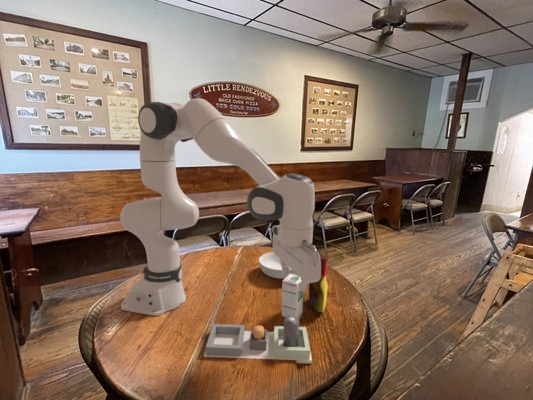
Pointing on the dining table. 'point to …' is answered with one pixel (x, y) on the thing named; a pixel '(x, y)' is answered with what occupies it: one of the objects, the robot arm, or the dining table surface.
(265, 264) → the serving bowl
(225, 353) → the grey compartment tray
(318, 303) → the bottle
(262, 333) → the brown egg
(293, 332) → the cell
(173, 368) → the dining table surface
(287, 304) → the syrup box
